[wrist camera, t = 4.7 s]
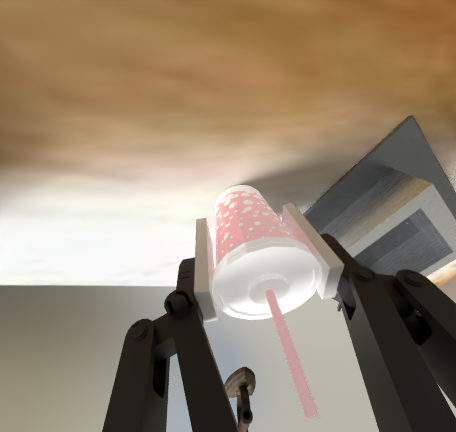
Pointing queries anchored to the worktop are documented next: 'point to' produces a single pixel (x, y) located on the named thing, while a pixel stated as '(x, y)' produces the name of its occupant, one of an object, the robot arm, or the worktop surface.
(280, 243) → the beverage cup
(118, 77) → the worktop surface
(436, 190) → the socket holder
